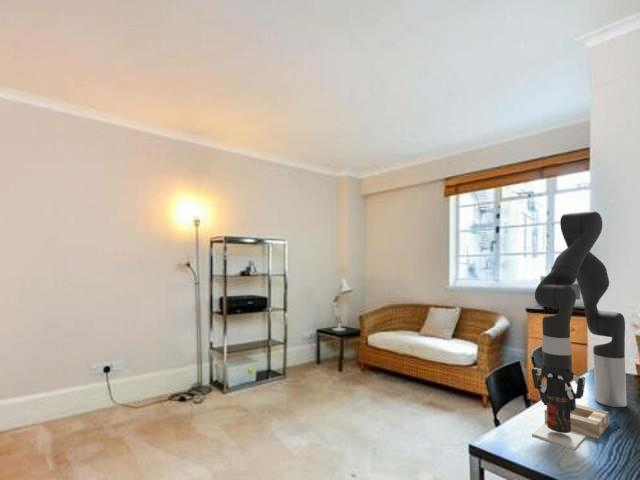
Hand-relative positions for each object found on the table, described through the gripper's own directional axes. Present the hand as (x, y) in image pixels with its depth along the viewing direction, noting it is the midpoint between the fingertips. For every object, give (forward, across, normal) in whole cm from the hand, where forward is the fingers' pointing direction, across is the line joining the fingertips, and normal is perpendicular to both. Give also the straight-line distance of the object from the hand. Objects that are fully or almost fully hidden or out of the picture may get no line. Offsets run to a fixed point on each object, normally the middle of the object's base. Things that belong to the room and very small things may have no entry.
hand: (558, 407), depth 112 cm
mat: (+8, 0, 0) cm, 8 cm away
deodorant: (+6, 0, 0) cm, 6 cm away
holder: (+8, -1, -14) cm, 16 cm away
